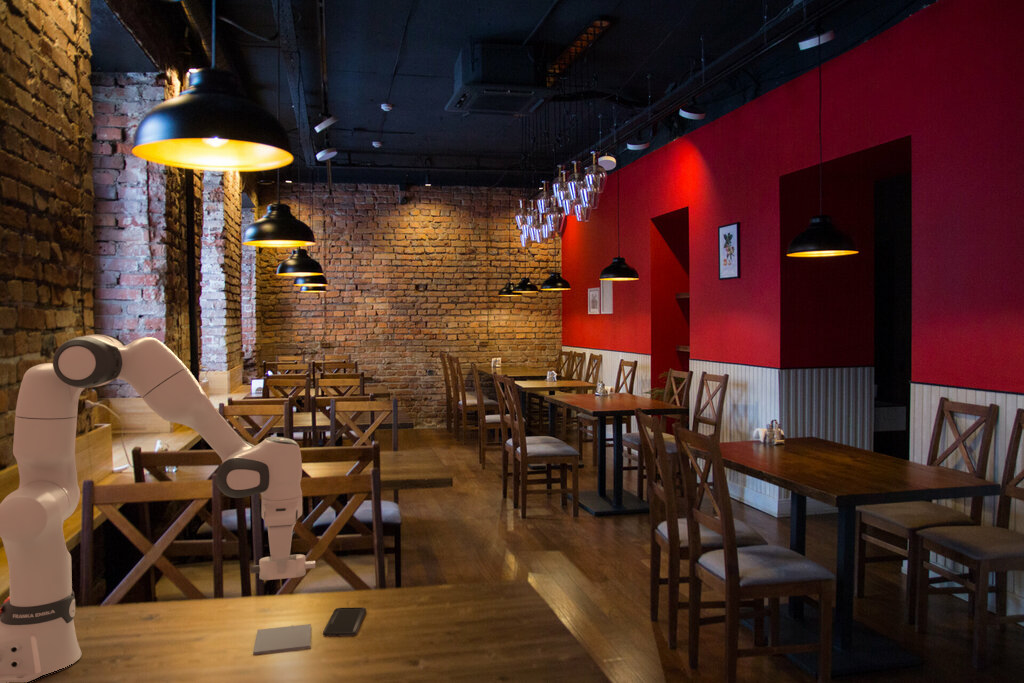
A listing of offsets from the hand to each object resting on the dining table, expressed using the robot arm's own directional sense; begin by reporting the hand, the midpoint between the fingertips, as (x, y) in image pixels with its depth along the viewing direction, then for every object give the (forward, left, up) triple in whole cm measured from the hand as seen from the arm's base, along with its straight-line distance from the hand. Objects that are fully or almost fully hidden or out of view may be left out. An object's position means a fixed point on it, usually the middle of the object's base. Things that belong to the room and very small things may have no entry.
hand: (282, 568), depth 163 cm
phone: (+14, +6, -17) cm, 23 cm away
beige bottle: (0, 0, -2) cm, 2 cm away
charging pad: (0, 0, -16) cm, 16 cm away
